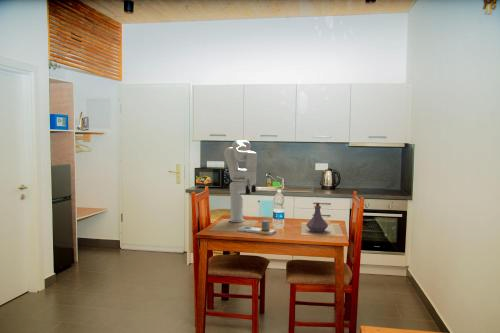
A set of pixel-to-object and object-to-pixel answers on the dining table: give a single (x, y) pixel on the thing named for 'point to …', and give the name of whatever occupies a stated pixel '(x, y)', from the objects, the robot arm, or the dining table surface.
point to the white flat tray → (256, 230)
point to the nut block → (265, 225)
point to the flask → (317, 221)
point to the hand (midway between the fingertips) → (250, 193)
